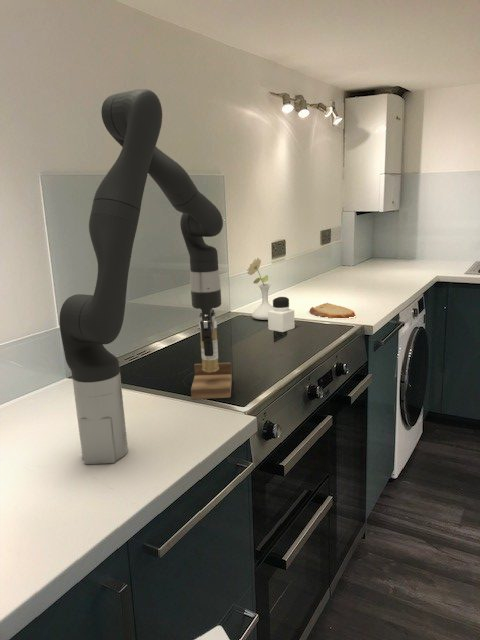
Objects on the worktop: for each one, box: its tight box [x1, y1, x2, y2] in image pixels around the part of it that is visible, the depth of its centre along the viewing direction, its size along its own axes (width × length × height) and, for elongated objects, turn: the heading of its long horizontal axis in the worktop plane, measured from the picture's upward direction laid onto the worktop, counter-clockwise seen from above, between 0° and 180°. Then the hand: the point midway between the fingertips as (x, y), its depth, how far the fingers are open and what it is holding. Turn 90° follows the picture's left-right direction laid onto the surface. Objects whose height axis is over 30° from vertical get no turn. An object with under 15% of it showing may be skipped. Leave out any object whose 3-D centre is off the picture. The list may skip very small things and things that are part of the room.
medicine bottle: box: [267, 296, 296, 333], centre depth 201 cm, size 7×7×12 cm
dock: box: [190, 361, 233, 400], centre depth 144 cm, size 12×10×6 cm
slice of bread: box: [309, 302, 357, 319], centre depth 221 cm, size 18×18×4 cm
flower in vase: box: [247, 257, 274, 321], centre depth 216 cm, size 13×11×25 cm
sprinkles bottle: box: [198, 319, 219, 372], centre depth 140 cm, size 5×5×14 cm
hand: (209, 352), depth 141 cm, fingers closed on sprinkles bottle, 4 cm apart
